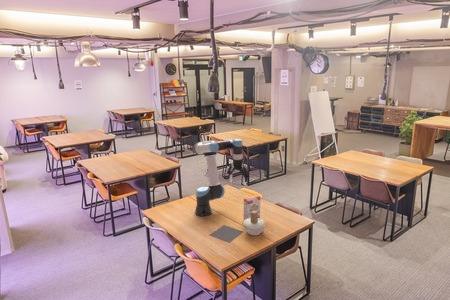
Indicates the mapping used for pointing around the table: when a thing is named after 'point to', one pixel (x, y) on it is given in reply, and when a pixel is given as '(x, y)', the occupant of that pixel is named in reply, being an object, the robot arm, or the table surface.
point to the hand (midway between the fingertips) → (238, 183)
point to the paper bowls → (254, 231)
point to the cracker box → (251, 206)
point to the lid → (254, 221)
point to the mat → (226, 233)
